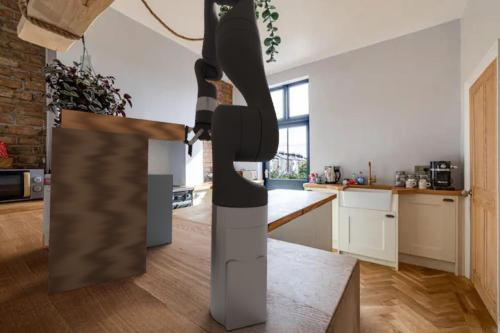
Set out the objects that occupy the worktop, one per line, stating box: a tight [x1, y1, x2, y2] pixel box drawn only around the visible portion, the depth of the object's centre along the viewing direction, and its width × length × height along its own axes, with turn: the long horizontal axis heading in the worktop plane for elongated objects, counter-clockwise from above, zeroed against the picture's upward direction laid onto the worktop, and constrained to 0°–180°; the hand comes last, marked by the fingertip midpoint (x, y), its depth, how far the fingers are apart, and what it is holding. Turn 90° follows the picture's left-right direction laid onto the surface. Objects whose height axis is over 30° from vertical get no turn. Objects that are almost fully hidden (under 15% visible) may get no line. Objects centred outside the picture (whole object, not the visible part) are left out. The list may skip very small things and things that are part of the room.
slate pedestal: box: [146, 173, 174, 248], centre depth 68 cm, size 16×10×21 cm, turn 124°
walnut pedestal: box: [47, 126, 150, 296], centre depth 48 cm, size 16×10×30 cm, turn 124°
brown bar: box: [60, 108, 186, 143], centre depth 51 cm, size 24×4×4 cm, turn 124°
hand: (203, 157), depth 77 cm, fingers open, 8 cm apart
